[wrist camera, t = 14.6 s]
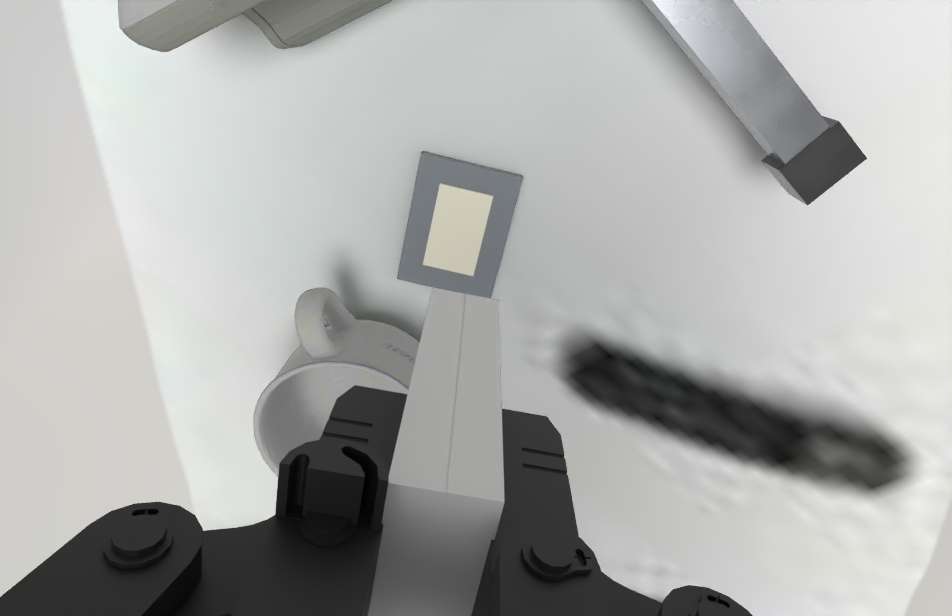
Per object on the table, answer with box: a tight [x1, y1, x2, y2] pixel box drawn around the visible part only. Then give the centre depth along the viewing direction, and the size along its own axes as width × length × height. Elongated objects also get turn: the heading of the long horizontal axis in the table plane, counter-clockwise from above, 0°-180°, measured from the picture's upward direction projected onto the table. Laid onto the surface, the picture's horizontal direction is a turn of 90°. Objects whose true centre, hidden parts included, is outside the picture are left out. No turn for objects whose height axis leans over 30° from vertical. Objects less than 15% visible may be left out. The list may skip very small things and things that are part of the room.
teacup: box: [254, 288, 420, 476], centre depth 38 cm, size 14×11×8 cm
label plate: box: [397, 151, 523, 298], centre depth 38 cm, size 8×6×1 cm
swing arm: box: [642, 0, 867, 205], centre depth 28 cm, size 22×4×2 cm, turn 46°
